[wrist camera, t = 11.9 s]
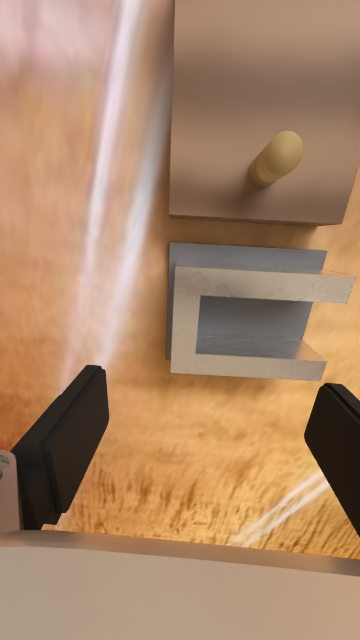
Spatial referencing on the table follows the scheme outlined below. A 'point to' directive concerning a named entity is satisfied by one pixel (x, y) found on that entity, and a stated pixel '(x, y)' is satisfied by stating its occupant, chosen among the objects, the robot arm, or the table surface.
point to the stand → (265, 110)
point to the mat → (244, 312)
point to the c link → (248, 350)
